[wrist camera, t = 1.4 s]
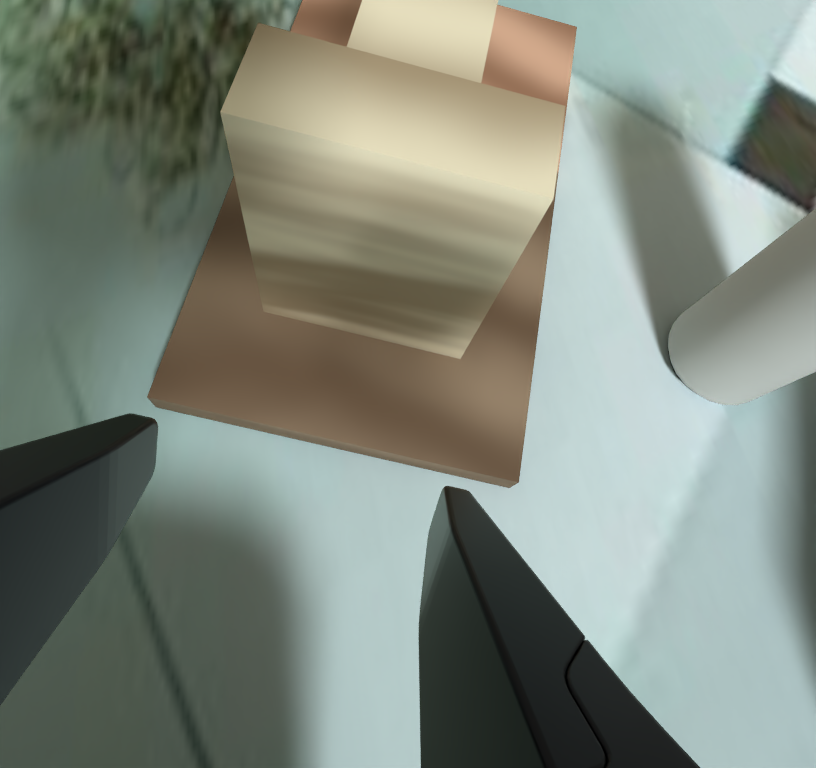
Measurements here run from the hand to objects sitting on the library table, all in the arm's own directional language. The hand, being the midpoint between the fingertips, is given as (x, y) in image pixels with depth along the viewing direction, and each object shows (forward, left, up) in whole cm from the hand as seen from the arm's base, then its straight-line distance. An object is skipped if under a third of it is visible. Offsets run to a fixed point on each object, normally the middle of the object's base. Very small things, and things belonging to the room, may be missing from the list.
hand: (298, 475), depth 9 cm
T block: (+13, +3, -11) cm, 17 cm away
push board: (+16, +4, -13) cm, 20 cm away
